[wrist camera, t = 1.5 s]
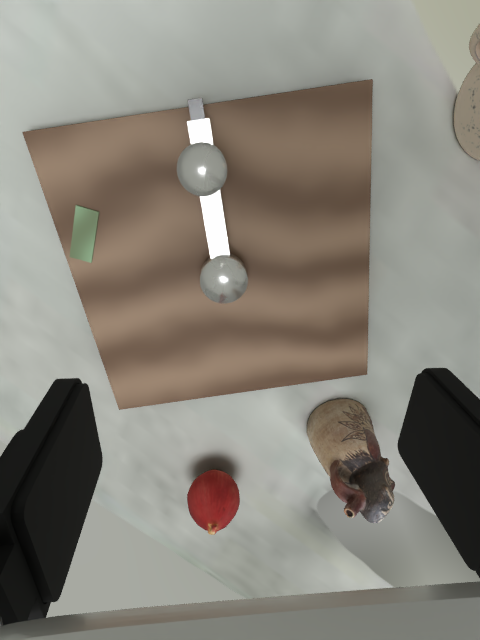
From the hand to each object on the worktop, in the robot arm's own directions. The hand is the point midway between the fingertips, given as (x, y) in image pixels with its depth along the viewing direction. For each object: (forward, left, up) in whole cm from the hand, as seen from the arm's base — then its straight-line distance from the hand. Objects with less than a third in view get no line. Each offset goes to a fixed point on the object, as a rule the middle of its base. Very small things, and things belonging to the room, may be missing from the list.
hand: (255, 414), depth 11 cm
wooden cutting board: (+1, +3, -24) cm, 24 cm away
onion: (+6, +28, -24) cm, 38 cm away
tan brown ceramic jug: (-9, +23, -24) cm, 35 cm away
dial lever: (+1, -3, -22) cm, 23 cm away
